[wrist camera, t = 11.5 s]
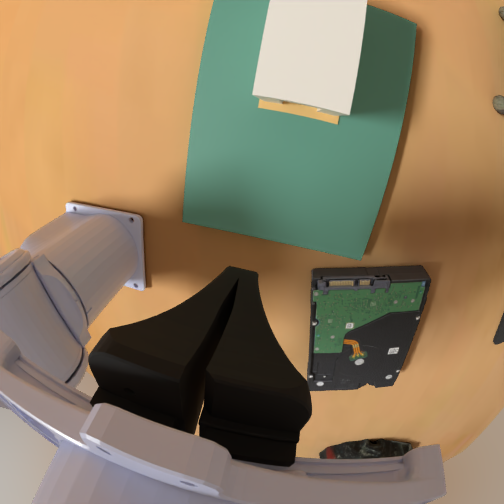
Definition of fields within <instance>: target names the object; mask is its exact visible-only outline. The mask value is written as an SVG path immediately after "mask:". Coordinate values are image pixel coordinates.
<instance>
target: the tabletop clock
mask: <svg viewBox="0 0 504 504" xmlns="http://www.w3.org/2000/svg"><path fill="white" fill-rule="evenodd" d="M499 14H500V16H501V17H502V19H503V20H504V7H500V8H499ZM493 106H494V108H495V109H496V111H497V112H498V113H500V114H504V97H503V96H501V95H498V96H495V97H494V99H493Z"/></svg>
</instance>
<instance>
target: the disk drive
mask: <svg viewBox="0 0 504 504" xmlns="http://www.w3.org/2000/svg"><path fill="white" fill-rule="evenodd" d="M430 283H431V278H430V277H429V275H428V274H427V272H426V271H425V269H424V268H423V266H421V265H419V266H390V267H369V268H365V267H357V268H315V269H312V282H311V317H310V318H311V319H310V342H309V362H308V369H307V382H308V386H309V390H310V391H326V390H354V389H358V388H360V387H362V386H364V385H366V383H368V384H369V385H372V386H375V388H378V387H387V386H393V385H394V382H395V381H396V379H397V377H398V375H399V373H400V370H401V368H402V365H403V363H404V360H405V358H406V355H407V353H408V350H409V348H410V345H411V342H412V340H413V337H414V335H415V332H416V329H417V326H418V324H419V321H420V317H421V314H422V311H423V309H424V305H425V303H426V299H427V293H428V291H429V287H430Z"/></svg>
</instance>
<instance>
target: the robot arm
mask: <svg viewBox="0 0 504 504" xmlns="http://www.w3.org/2000/svg"><path fill="white" fill-rule="evenodd" d="M76 208H77V209H76ZM131 218H133V220H134V221H132V220H131ZM136 284H137V285H136ZM123 286H127V287H130V288H134V289H137V290H140V291H143V290H144V289H145V288H146V279H145V264H144V243H143V219H142V217H141V216H140V215H138V214H133V213H128V212H122V211H117V210H112V209H107V208H102V207H96V206H91V205H86V204H81V203H75V202H68V203H66V213H64V214H63V215H61V216H59V217H58V218H56V219H54V220H53V221H51V222H49V223H48V224H46V225H45V226H43V227H41V228H40V229H38V230H37V231H35V232H34V233H32V234H31V235H29V236H28V237H27V238H26V239H25V241H24V242H23V244H22V245H21V247H20V248H17V249H15V250H13V251H11V252H9V253H7V254H6V255H4V256H2V257H1V258H0V407H3V408H6V409H10V410H12V411H13V412H14V413H15V414H17V415H18V416H19V417H20V418H21V419H22V420H23V421H24V422H26V423H27V424H28V425H29V426H30V427H32V428H33V429H34V430H35V431H37V432H38V433H39V434H41V435H42V436H43V437H44V438H46V439H47V440H48V441H50V442H51V443H53V444H54V445H55V446H57V447H58V450H57V452H56V454H55V456H54V458H53V460H52V462H51V464H50V466H49V468H48V470H47V472H46V474H45V476H44V478H43V480H42V482H41V484H40V486H39V488H38V491H37V493H36V495H35V497H34V500H33V502H32V504H425V503H428V502H431V501H433V500H436V499H438V498H440V497H443V496H445V495H446V484H445V477H444V469H443V462H442V456H441V450H440V445H439V444H435V445H429V446H422V447H417V448H415V449H412V450H410V451H409V452H407V453H406V454H405V455H404V456H398V457H387V458H373V459H317V458H302V457H295V456H296V445H297V443H298V442H299V436H300V430H301V429H302V428H303V427H304V425H305V424H306V423H307V422H308V420H309V419H310V417H311V415H312V403H311V395H310V390H309V386H308V382H307V381H306V380H305V378H304V377H303V376H302V375H301V374H300V373H299V372H298V371H297V369H296V368H295V367H294V366H293V364H292V363H291V362H290V360H289V359H288V358H287V356H286V354H285V353H284V351H283V350H282V348H281V346H280V345H279V343H278V341H277V340H276V338H275V336H274V334H273V332H272V329H271V327H270V325H269V323H268V320H267V317H266V315H265V312H264V308H263V305H262V301H261V297H260V292H259V286H258V273H257V272H254V271H249V270H245V269H240V268H236V267H231V266H229V267H227V268H226V269H225V270H224V271H223V272H222V273H221V274H220V275H219V276H218V277H217V278H215V279H214V280H213V281H212V282H211V283H209V284H208V285H207V286H206V287H205V288H203V289H202V290H201V291H199V292H198V293H196V294H195V295H194V296H192V297H191V298H189V299H188V300H186V301H184V302H183V303H181V304H179V305H178V306H176V307H174V308H172V309H170V310H168V311H166V312H163V313H161V314H159V315H157V316H154V317H151V318H148V319H146V320H142V321H139V322H136V323H132V324H128V325H124V326H119V327H115V328H110V329H109V330H108V331H107V332H106V333H105V334H104V335H103V336H102V338H101V339H100V340H99V342H98V343H97V345H96V346H95V347H94V349H93V350H92V352H91V353H90V354H89V356H88V352H87V350H86V348H85V345H86V344H87V343H88V341H89V340H90V339H91V336H90V334H89V332H88V328H89V326H90V325H91V324H92V323H93V321H94V320H95V319H96V318H97V316H98V315H99V314H100V313H101V312H102V310H103V309H104V308H105V307H106V306H107V304H108V303H109V302H110V301H111V300H112V298H113V297H114V296H115V295H116V294H117V293H118V291H119V290H120V289H121V288H122V287H123ZM88 362H89V365H90V369H91V371H92V373H93V375H94V377H95V379H96V381H97V383H98V385H99V387H98V389H97V391H96V392H95V394H94V396H93V397H90V396H88V395H86V394H84V393H82V392H81V391H79V390H77V389H75V388H76V387H77V386H78V385H79V383H80V382H81V380H82V378H83V377H84V374H85V372H86V369H87V366H88ZM203 401H204V407H203V410H202V413H201V416H200V419H199V415H200V412H201V408H202V405H203ZM198 419H199V425H200V427H199V436H196V435H194V434H195V430H196V426H197V423H198Z"/></svg>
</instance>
